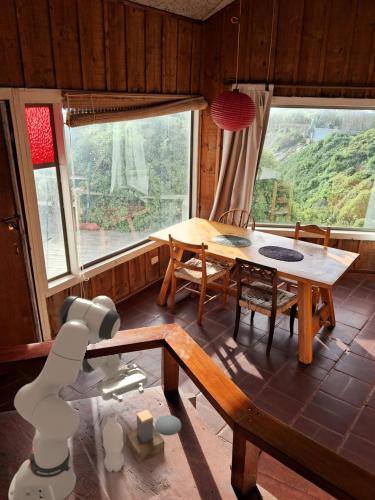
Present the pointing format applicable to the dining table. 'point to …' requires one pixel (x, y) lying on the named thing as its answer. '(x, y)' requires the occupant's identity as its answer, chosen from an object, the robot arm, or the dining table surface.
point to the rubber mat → (168, 425)
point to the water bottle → (113, 443)
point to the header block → (144, 445)
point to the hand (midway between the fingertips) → (131, 396)
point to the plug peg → (144, 426)
